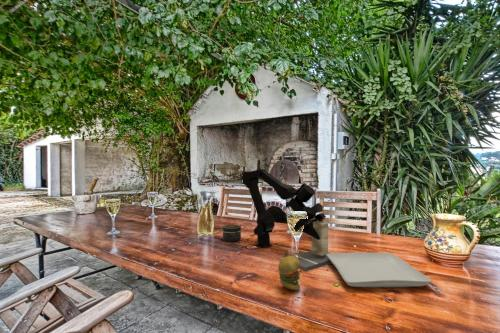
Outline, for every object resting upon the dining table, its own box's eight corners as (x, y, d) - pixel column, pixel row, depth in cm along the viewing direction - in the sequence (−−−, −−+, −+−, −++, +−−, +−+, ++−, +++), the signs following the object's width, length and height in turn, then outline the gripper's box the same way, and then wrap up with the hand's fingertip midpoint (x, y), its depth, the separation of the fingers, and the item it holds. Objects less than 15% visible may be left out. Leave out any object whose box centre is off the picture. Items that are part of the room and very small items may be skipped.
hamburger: (305, 292, 87) (305, 255, 87) (285, 296, 85) (284, 258, 85) (293, 282, 95) (293, 248, 94) (274, 286, 92) (274, 250, 92)
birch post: (311, 253, 116) (311, 222, 117) (317, 250, 120) (317, 221, 120) (321, 255, 113) (322, 224, 113) (327, 253, 116) (328, 222, 117)
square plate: (325, 261, 114) (325, 252, 114) (391, 261, 113) (391, 251, 113) (346, 292, 87) (346, 280, 87) (434, 292, 86) (434, 279, 86)
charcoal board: (283, 261, 115) (283, 257, 115) (316, 252, 126) (316, 248, 126) (306, 271, 104) (305, 267, 104) (340, 260, 115) (339, 256, 115)
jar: (244, 240, 148) (244, 226, 148) (228, 244, 142) (228, 229, 142) (235, 236, 156) (234, 223, 156) (219, 239, 150) (219, 226, 150)
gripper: (299, 199, 112) (324, 230, 105) (321, 195, 126) (345, 222, 118) (283, 216, 118) (306, 247, 110) (307, 210, 131) (328, 237, 124)
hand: (322, 238), depth 116 cm, fingers closed on birch post, 5 cm apart
